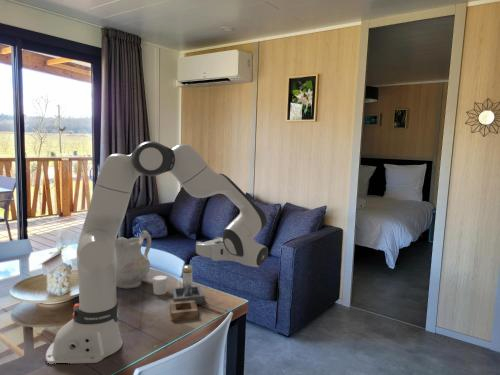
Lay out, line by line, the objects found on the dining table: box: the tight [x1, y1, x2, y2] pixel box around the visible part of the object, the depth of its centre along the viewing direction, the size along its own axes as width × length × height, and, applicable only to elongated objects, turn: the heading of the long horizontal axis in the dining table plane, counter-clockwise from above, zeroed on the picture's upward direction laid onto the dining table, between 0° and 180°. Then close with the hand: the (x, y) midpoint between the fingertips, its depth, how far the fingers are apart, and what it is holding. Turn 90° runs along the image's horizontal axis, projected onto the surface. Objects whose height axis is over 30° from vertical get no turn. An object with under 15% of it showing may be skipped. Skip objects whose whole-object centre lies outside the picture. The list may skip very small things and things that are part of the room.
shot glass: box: [151, 274, 169, 296], centre depth 167 cm, size 7×7×7 cm
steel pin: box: [182, 264, 193, 297], centre depth 159 cm, size 4×4×14 cm
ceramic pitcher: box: [115, 229, 152, 290], centre depth 176 cm, size 22×20×25 cm
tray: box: [171, 285, 205, 306], centre depth 159 cm, size 12×12×4 cm
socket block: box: [169, 300, 199, 322], centre depth 146 cm, size 10×10×3 cm
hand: (206, 241), depth 149 cm, fingers open, 8 cm apart
